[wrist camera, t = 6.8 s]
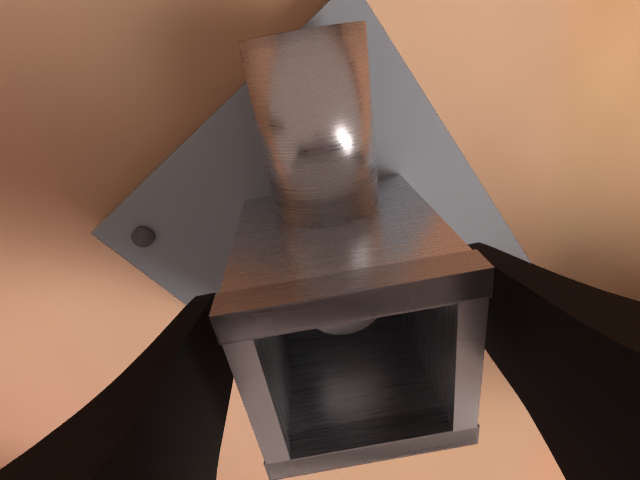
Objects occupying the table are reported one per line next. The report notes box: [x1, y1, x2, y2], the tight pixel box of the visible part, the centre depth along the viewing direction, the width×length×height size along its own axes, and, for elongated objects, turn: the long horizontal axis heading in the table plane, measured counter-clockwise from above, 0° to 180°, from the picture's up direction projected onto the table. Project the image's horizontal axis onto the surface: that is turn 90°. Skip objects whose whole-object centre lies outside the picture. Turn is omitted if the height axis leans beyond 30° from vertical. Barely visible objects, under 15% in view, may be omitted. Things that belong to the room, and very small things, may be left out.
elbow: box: [209, 21, 495, 480], centre depth 9 cm, size 10×5×6 cm, turn 8°
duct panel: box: [91, 0, 531, 335], centre depth 12 cm, size 11×12×4 cm
